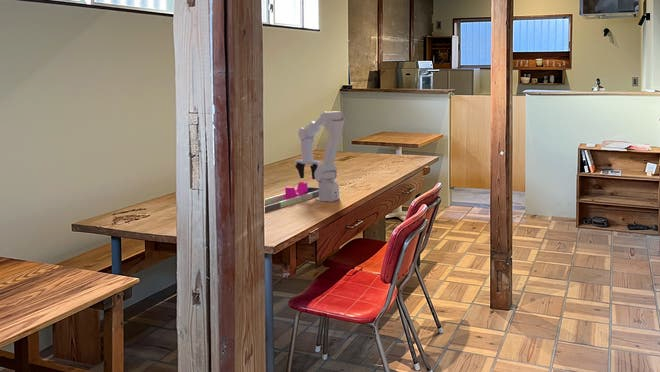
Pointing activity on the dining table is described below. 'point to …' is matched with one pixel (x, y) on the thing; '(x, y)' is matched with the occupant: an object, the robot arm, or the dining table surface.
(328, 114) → the robot arm
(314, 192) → the long grey tray strip
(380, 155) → the dining table surface
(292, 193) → the toy block
